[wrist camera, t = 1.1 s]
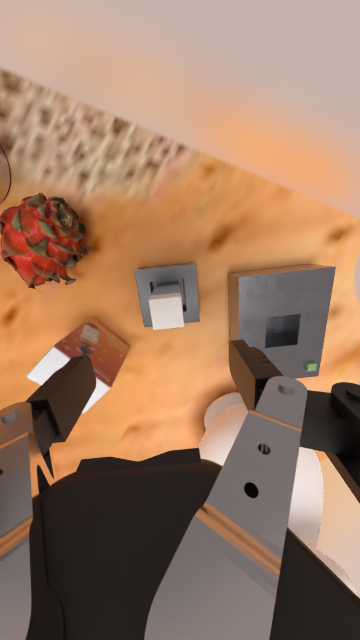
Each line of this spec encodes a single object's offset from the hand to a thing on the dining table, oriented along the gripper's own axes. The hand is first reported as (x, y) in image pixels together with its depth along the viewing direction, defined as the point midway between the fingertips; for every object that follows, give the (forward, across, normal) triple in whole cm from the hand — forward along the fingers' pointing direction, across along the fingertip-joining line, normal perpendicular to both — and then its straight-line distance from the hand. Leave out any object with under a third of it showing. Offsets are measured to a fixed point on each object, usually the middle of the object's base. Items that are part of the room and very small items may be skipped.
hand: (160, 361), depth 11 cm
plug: (+19, 0, 0) cm, 19 cm away
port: (+20, -15, +6) cm, 25 cm away
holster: (+20, 0, 0) cm, 20 cm away
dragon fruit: (+20, +14, -8) cm, 25 cm away
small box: (+20, +12, +7) cm, 24 cm away
